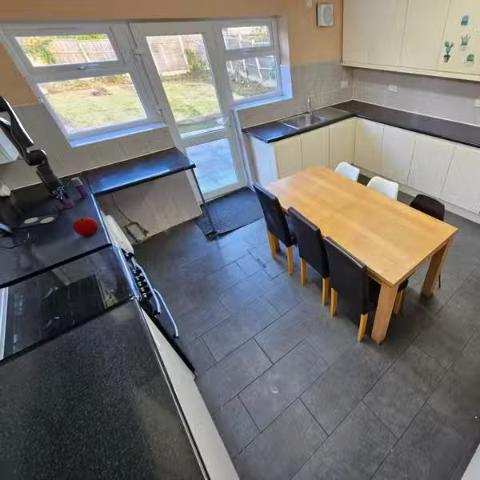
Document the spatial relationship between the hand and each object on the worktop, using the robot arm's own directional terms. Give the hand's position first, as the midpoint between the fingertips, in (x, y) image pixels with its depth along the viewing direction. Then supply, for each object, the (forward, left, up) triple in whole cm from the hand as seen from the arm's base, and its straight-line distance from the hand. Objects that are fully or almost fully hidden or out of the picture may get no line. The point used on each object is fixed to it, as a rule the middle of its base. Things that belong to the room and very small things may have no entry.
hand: (65, 201), depth 193 cm
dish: (0, 0, -5) cm, 5 cm away
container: (-13, +7, -5) cm, 16 cm away
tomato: (+46, +23, -5) cm, 52 cm away
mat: (+15, -13, -5) cm, 20 cm away
